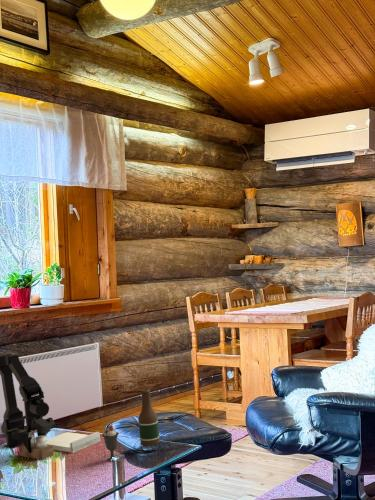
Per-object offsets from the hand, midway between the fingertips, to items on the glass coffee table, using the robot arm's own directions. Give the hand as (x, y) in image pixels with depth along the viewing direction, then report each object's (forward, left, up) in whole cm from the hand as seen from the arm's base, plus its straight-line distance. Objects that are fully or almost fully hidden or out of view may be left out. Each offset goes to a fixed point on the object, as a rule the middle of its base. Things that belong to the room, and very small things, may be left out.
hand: (36, 450), depth 292 cm
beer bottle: (+41, +24, -2) cm, 48 cm away
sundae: (+35, +8, -2) cm, 36 cm away
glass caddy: (0, 0, -2) cm, 2 cm away
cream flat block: (+3, +16, -2) cm, 16 cm away
